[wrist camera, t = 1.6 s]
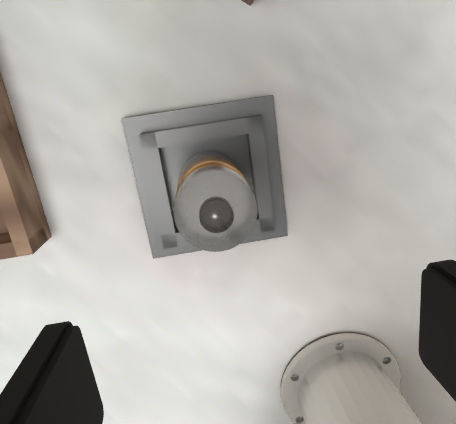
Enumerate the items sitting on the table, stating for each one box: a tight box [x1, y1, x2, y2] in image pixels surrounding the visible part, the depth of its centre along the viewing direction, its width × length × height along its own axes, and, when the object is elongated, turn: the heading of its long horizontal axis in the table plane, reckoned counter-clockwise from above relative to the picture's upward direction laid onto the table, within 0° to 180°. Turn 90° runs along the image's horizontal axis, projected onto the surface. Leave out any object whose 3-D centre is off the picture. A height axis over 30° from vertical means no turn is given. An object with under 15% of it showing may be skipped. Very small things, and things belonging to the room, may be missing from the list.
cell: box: [174, 151, 257, 251], centre depth 26 cm, size 5×5×10 cm
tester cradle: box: [122, 95, 288, 258], centre depth 30 cm, size 12×12×2 cm
